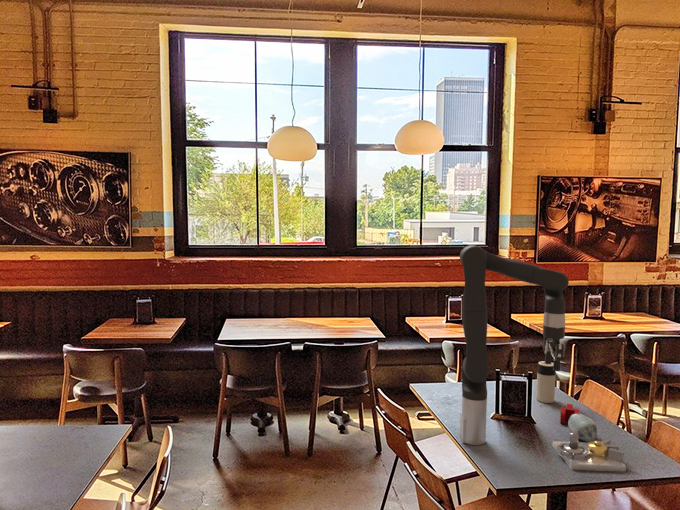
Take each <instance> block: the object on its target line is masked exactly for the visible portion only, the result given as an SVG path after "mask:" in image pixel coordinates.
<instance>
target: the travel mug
mask: <svg viewBox="0 0 680 510" xmlns="http://www.w3.org/2000/svg"><path fill="white" fill-rule="evenodd" d="M536 373H537V374H536V376H537V377H536V392H535V393H536V395H535V399H536V401H538V402H541V403H544V404H552V403H555V394H556V393H555V392H556V373H557V371H554V370H553V362H552V361H551V364H545V360H544V361H543V360H542V361H539V362H538V368H537V372H536Z"/></svg>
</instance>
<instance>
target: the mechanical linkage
mask: <svg viewBox="0 0 680 510" xmlns="http://www.w3.org/2000/svg"><path fill="white" fill-rule="evenodd" d="M573 414H580V409H576V408H574V404H572V403H566V407H564V406H562V407H560V417H559V418H560V419H559V424H562V425H565V423H566V421H569V418H570V417H571V415H573Z"/></svg>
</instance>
